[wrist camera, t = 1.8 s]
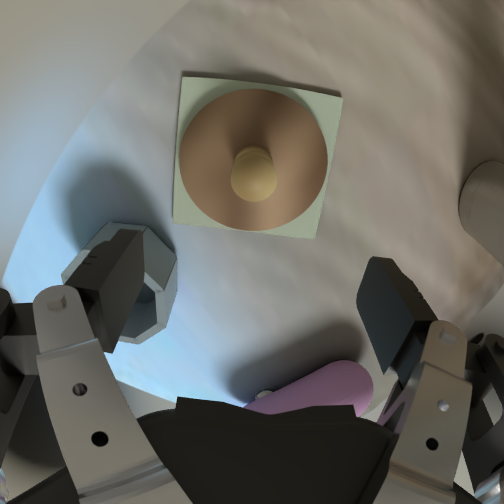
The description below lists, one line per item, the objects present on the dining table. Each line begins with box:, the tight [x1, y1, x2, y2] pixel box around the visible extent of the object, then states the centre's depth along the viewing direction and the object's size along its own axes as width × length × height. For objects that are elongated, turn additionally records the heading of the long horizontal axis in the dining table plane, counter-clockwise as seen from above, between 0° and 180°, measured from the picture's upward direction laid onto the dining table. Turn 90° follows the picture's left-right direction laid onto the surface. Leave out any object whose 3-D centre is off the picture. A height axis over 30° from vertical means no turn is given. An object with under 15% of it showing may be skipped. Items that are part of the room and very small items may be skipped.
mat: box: [173, 77, 343, 239], centre depth 25 cm, size 13×13×1 cm
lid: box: [179, 89, 328, 231], centre depth 22 cm, size 12×12×6 cm
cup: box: [61, 222, 177, 344], centre depth 28 cm, size 10×10×6 cm
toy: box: [243, 360, 373, 417], centre depth 37 cm, size 8×9×20 cm
